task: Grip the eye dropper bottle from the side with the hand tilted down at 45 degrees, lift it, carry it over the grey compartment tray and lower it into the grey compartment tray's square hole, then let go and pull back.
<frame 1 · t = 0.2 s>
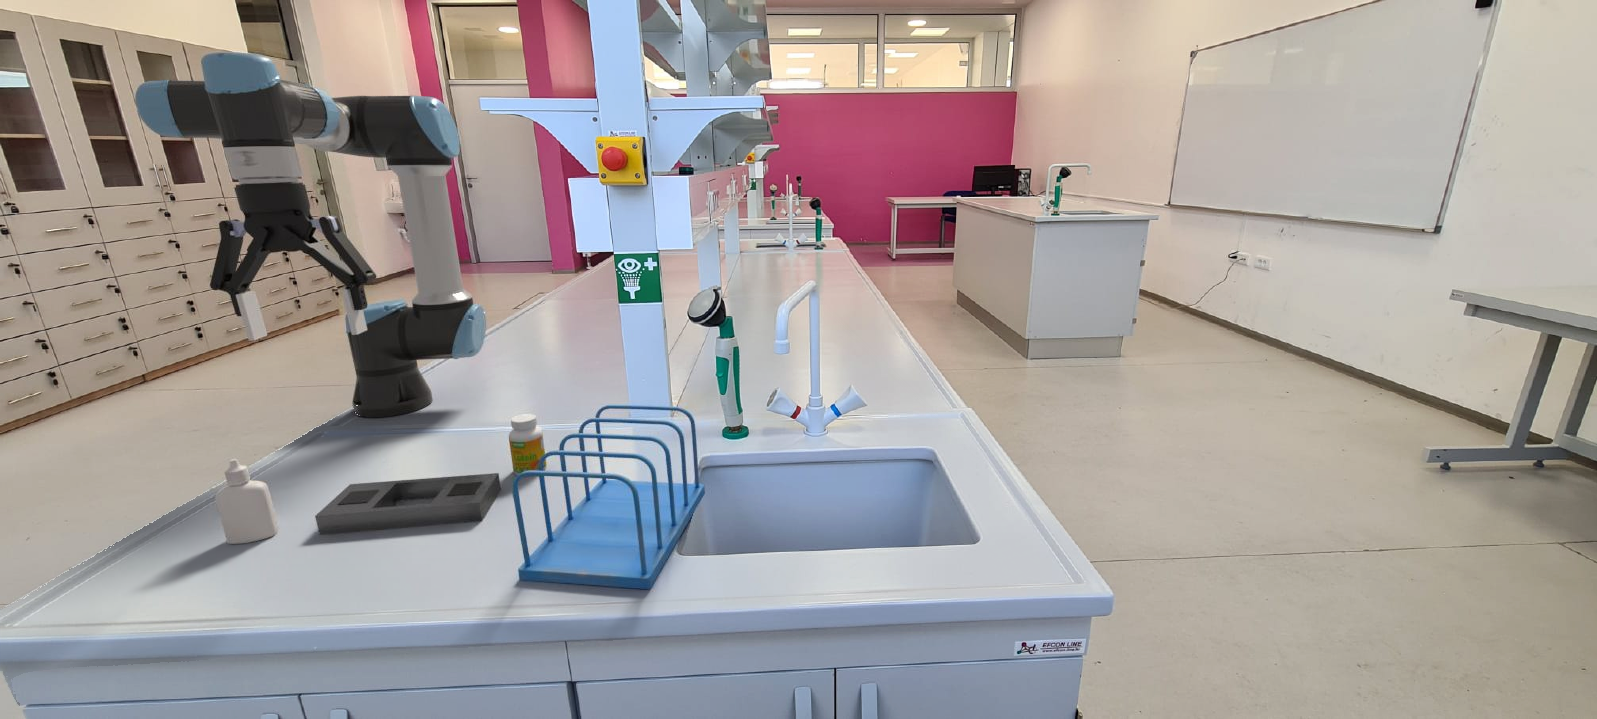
hand: (309, 335, 93), 28 cm above the worktop, tool pointing down, fingers open, 13 cm apart
supplement bottle: (530, 471, 113), on the worktop
file sorter: (623, 534, 93), on the worktop
eye dropper bottle: (254, 538, 92), on the worktop
grey compartment tray: (416, 510, 99), on the worktop
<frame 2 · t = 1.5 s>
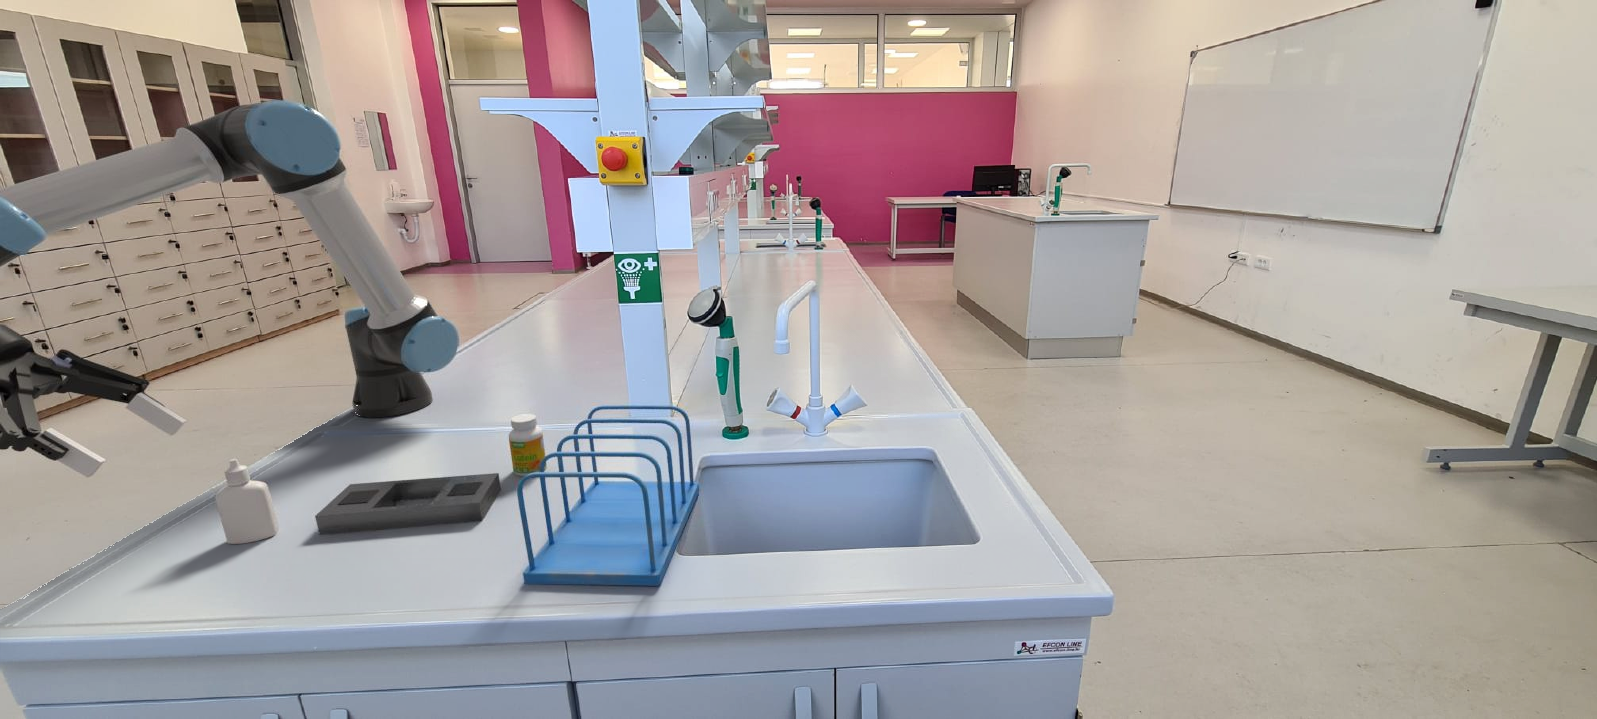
hand: (141, 447, 87), 15 cm above the worktop, tool tilted 45°, fingers open, 13 cm apart
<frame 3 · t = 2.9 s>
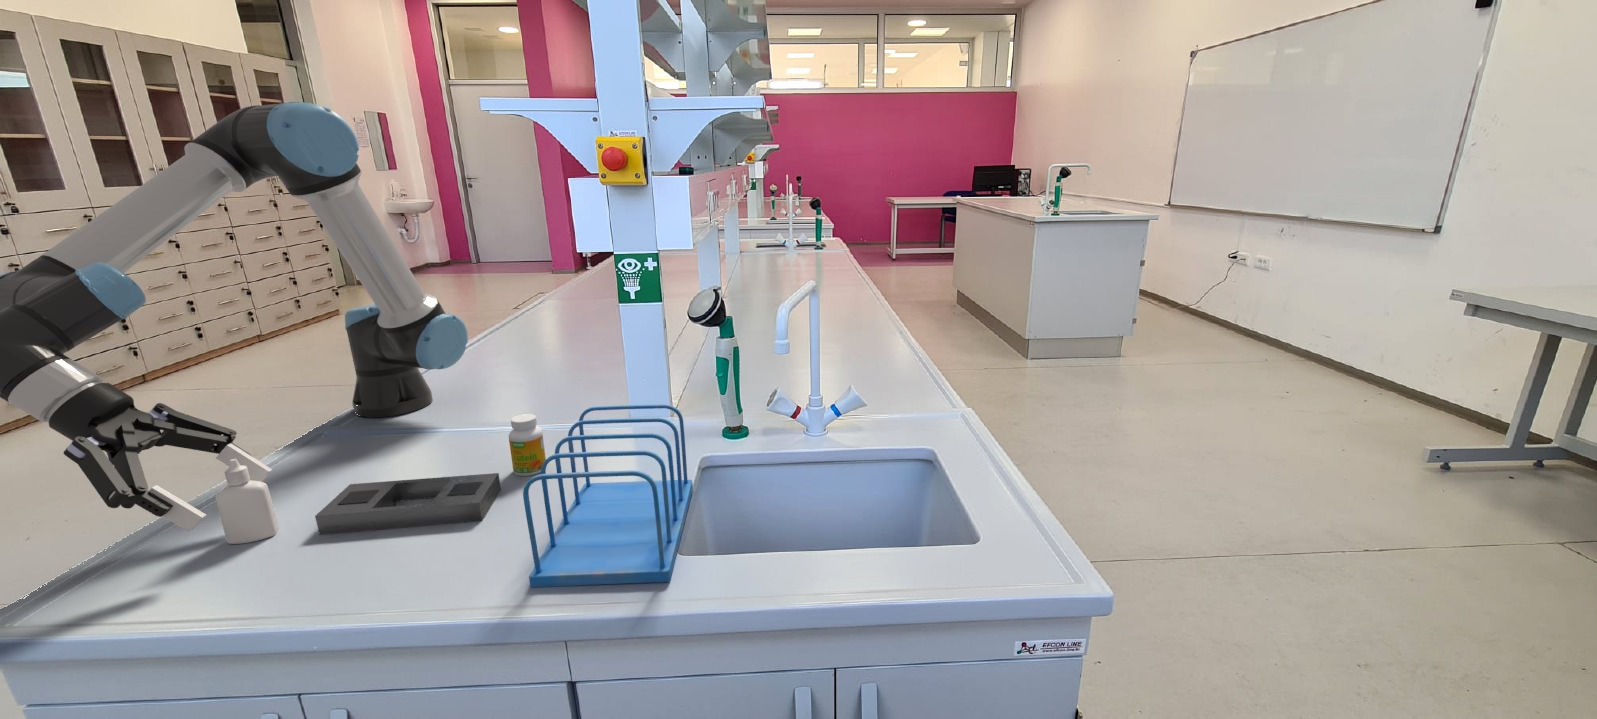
hand: (234, 498, 90), 6 cm above the worktop, tool tilted 45°, fingers open, 13 cm apart
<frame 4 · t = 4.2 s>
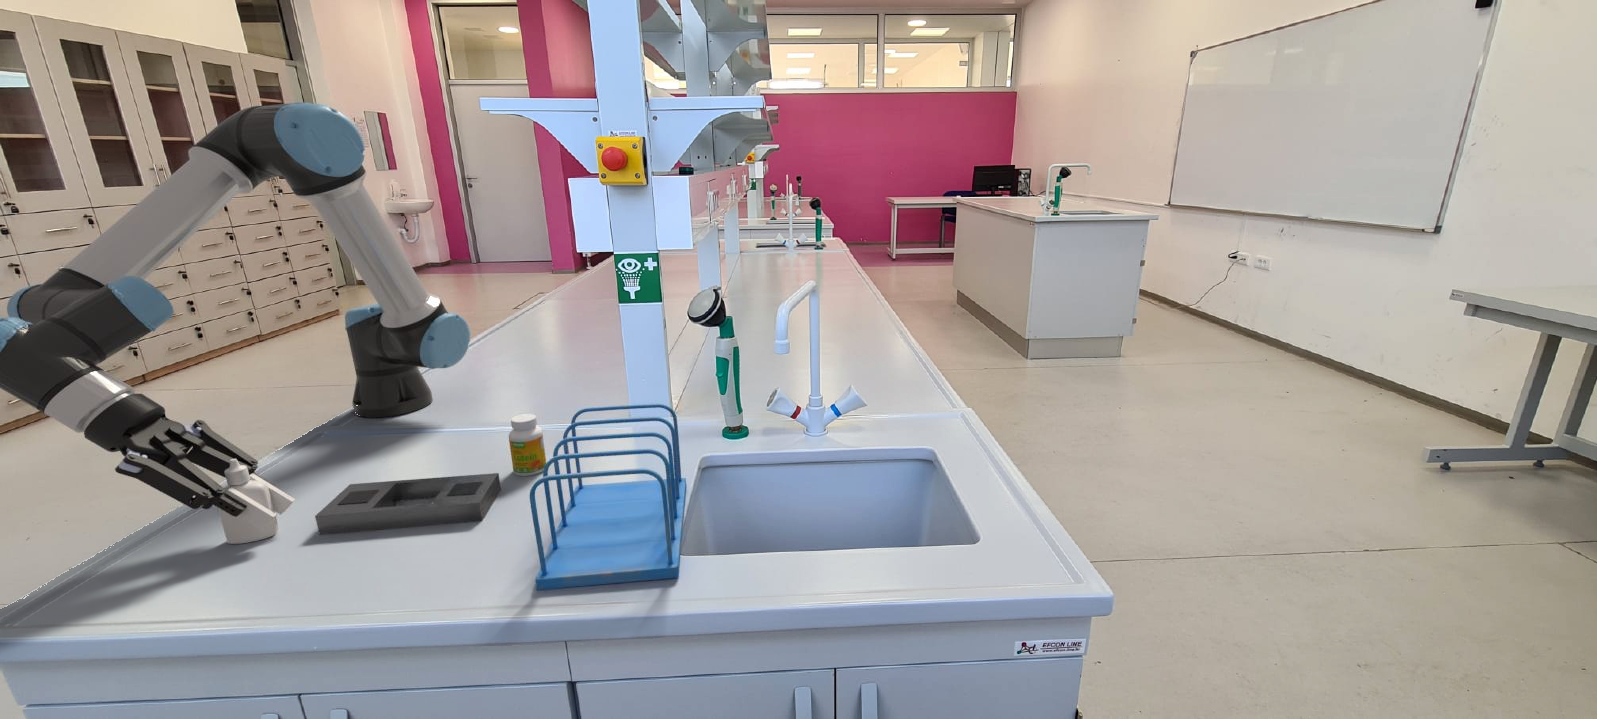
hand: (278, 514, 92), 3 cm above the worktop, tool tilted 45°, fingers closed on eye dropper bottle, 4 cm apart
eye dropper bottle: (254, 538, 92), on the worktop, touching gripper
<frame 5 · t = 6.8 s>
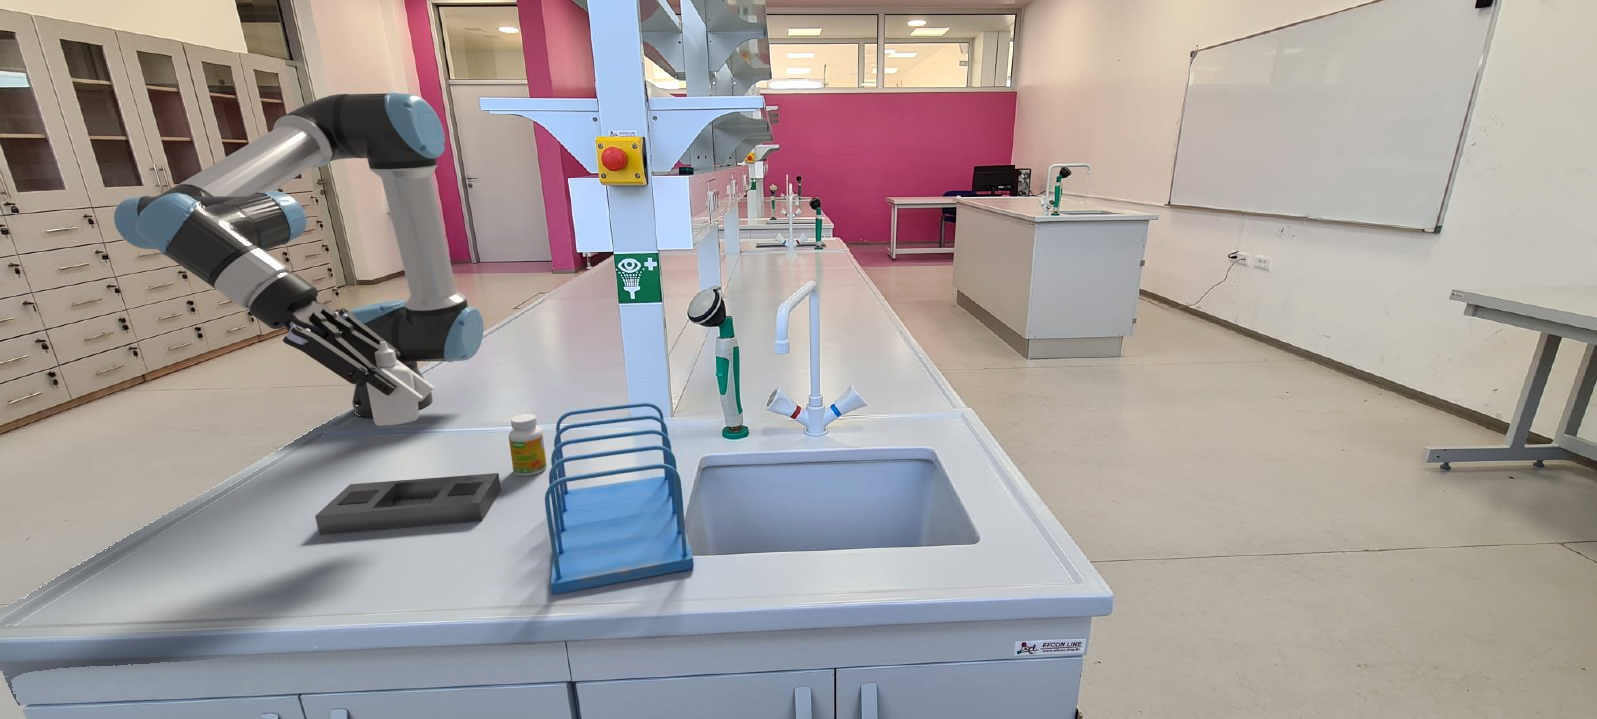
hand: (422, 398, 95), 18 cm above the worktop, tool tilted 45°, fingers closed on eye dropper bottle, 4 cm apart
eye dropper bottle: (398, 422, 95), point 15 cm above the worktop, touching gripper
when the fingers open (5 cm above the worktop, at t = 9.4 s): eye dropper bottle drops 1 cm, resting in grey compartment tray.
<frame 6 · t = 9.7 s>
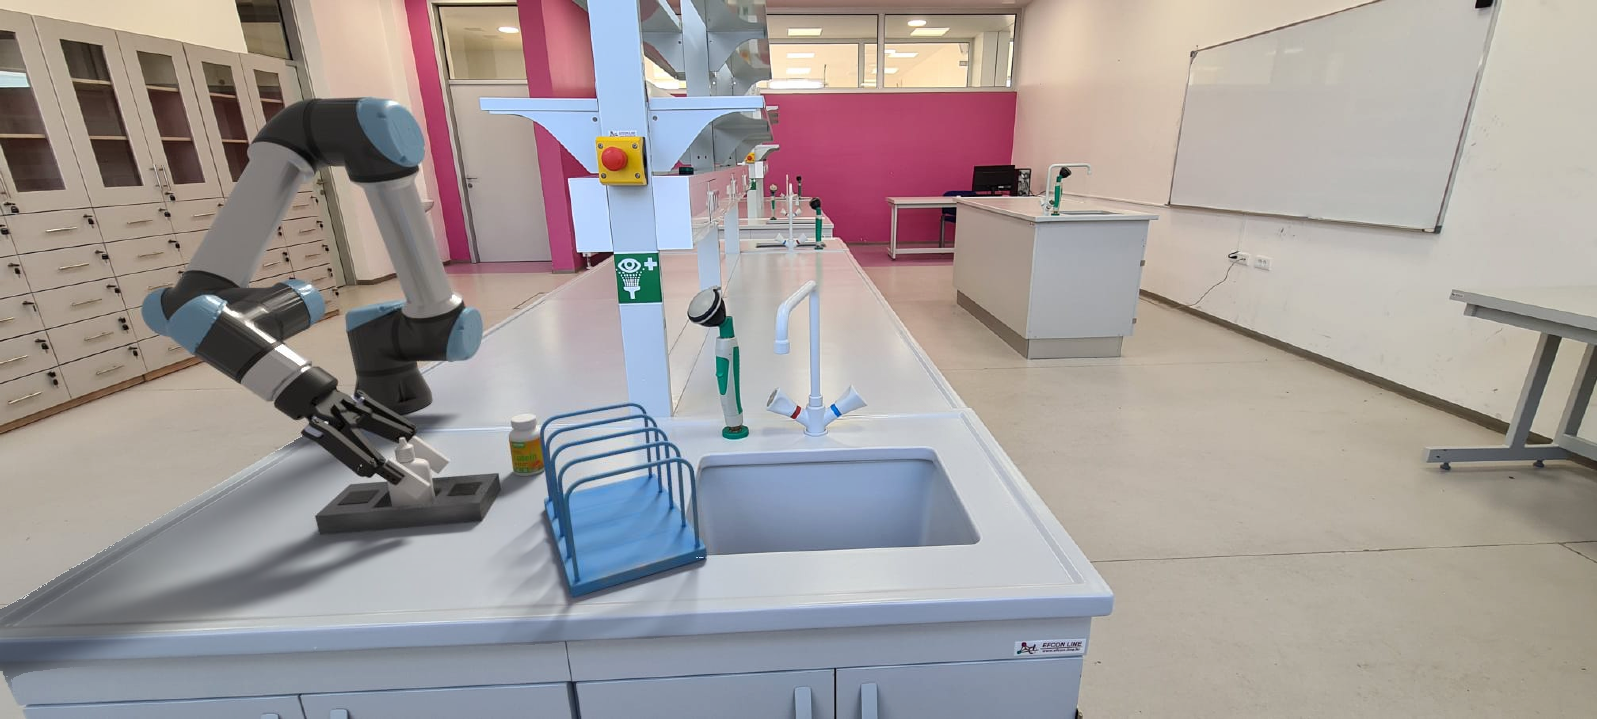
hand: (434, 478, 98), 5 cm above the worktop, tool tilted 45°, fingers open, 8 cm apart
eye dropper bottle: (416, 511, 99), resting in grey compartment tray
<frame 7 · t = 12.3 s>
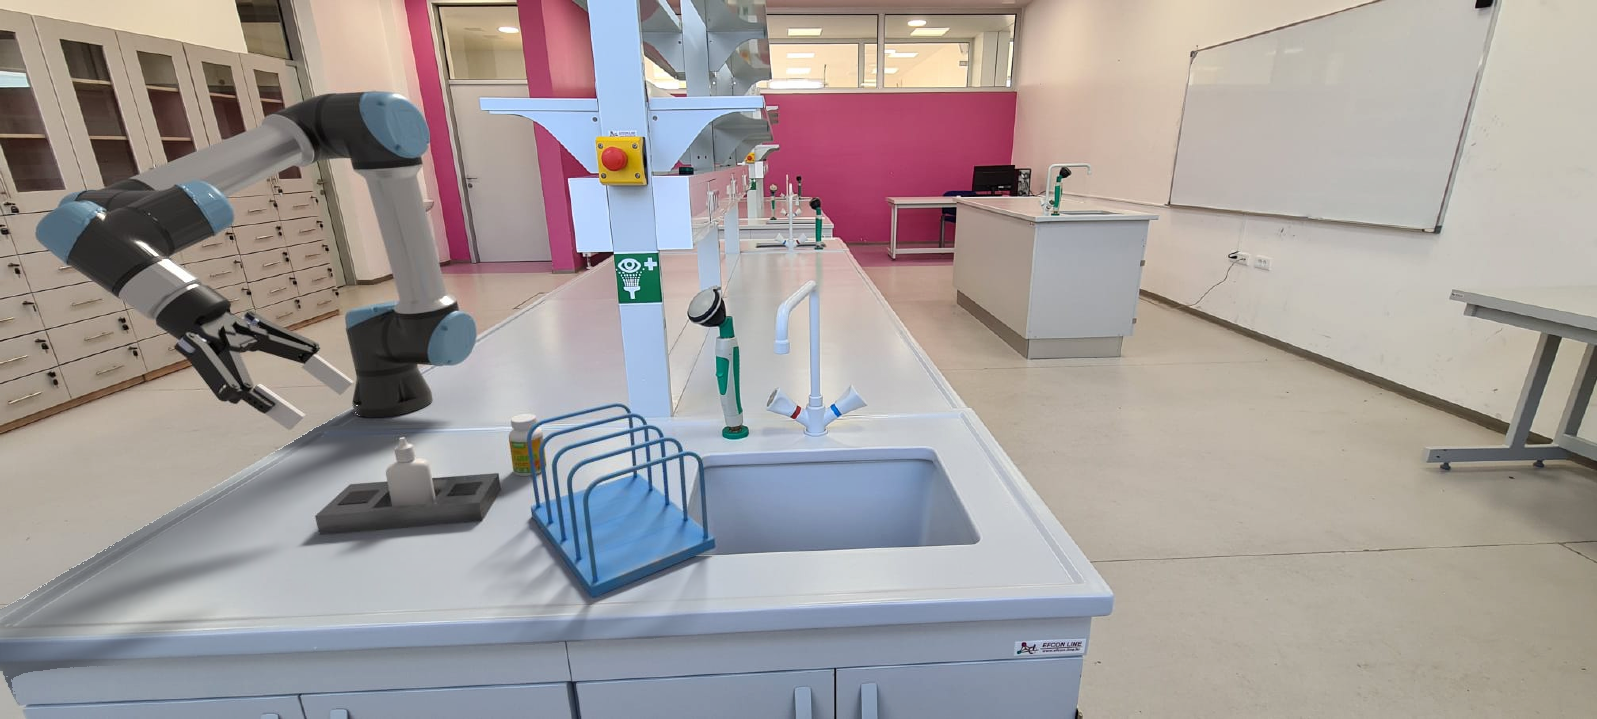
hand: (324, 404, 94), 18 cm above the worktop, tool tilted 45°, fingers open, 13 cm apart
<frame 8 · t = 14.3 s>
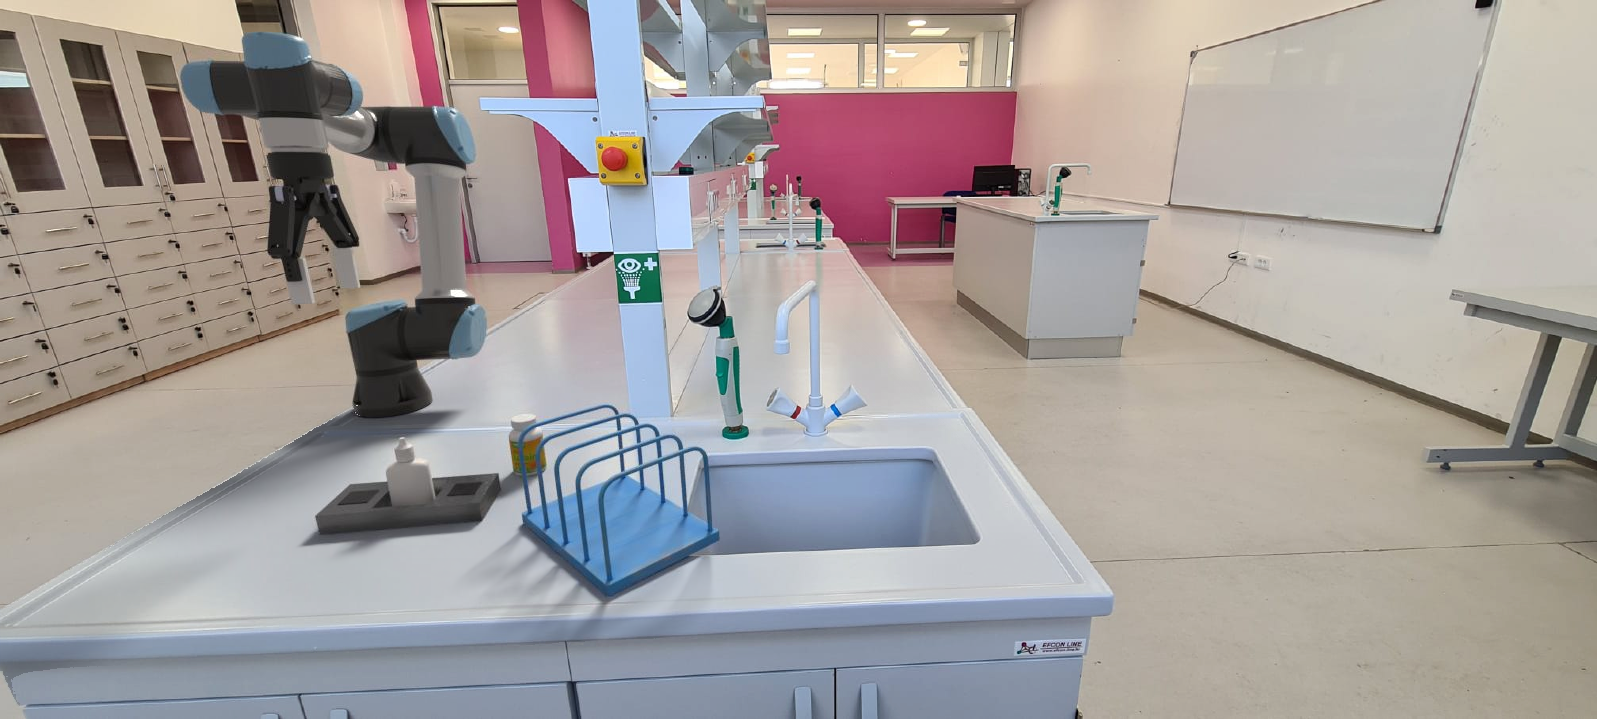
hand: (328, 295, 100), 32 cm above the worktop, tool pointing down, fingers open, 13 cm apart
at the end: eye dropper bottle inside the target area on the grey compartment tray (0.1 cm from its centre), point 0.0 cm above the grey compartment tray's base; eye dropper bottle tilted 0°; the gripper is holding nothing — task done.
